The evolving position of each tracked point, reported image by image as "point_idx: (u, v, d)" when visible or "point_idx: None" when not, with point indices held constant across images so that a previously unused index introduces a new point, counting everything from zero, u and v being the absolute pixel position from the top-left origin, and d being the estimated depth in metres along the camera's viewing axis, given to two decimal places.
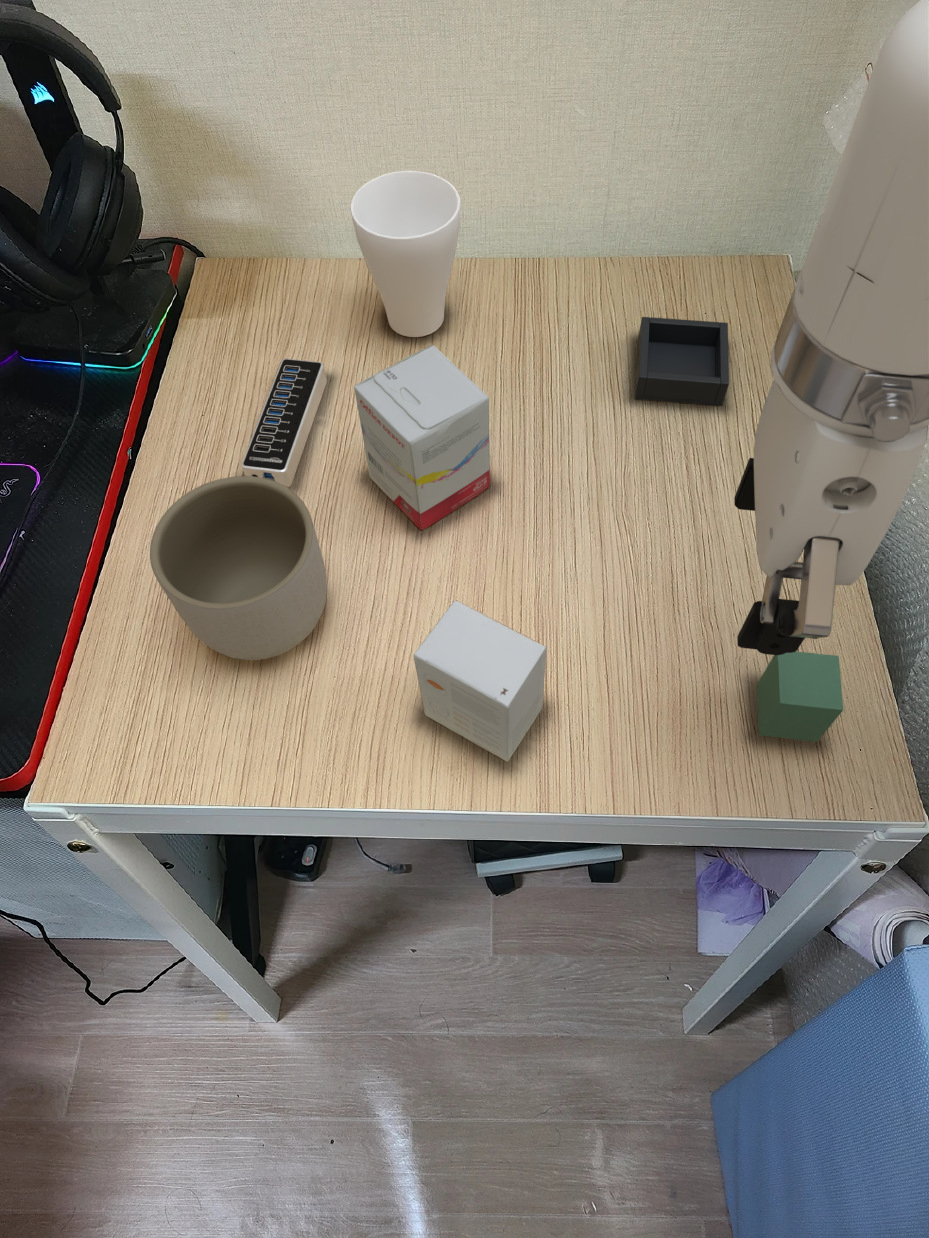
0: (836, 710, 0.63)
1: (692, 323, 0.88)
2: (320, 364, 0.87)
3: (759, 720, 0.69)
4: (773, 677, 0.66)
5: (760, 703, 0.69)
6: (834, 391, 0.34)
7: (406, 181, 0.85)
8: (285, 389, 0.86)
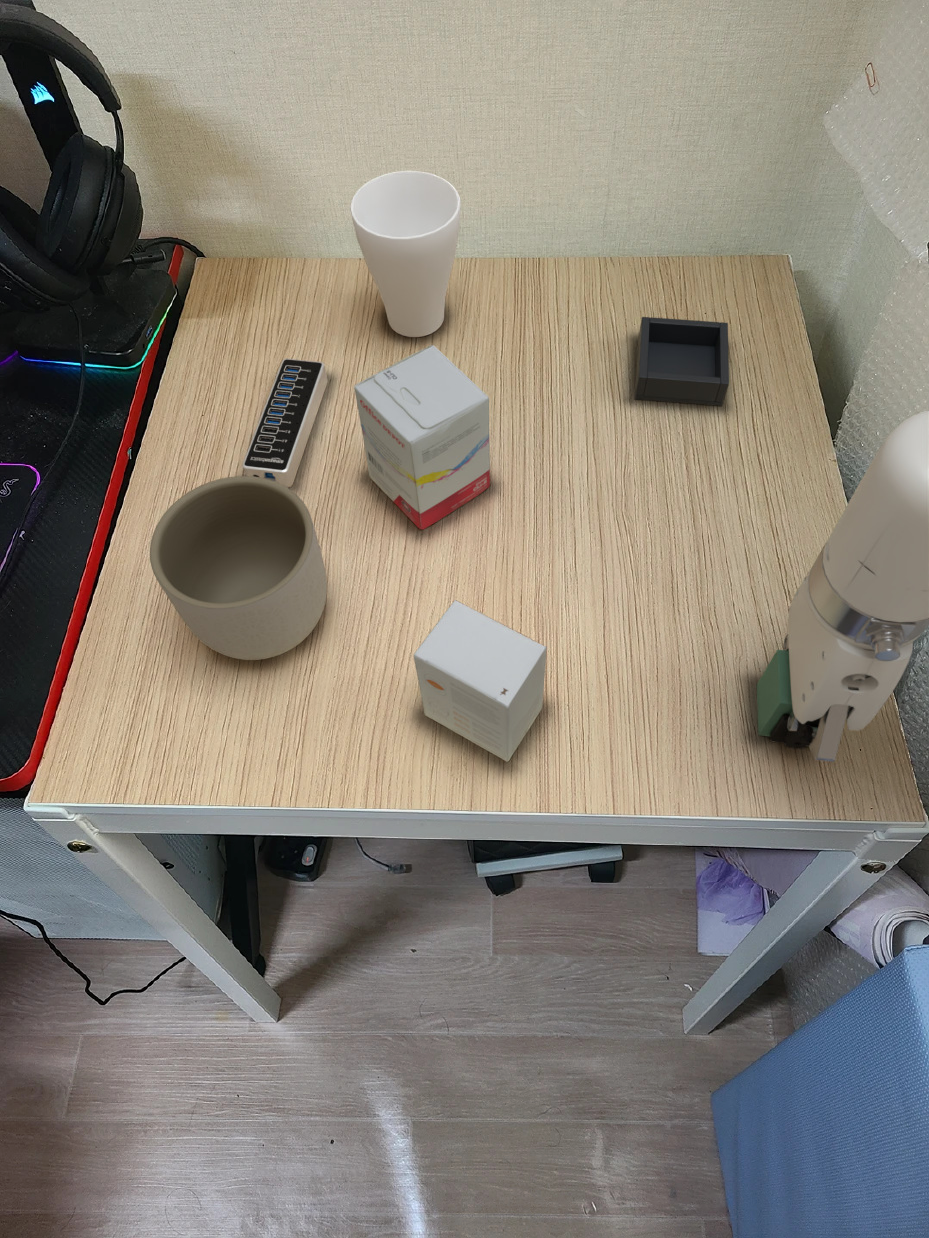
0: None
1: (692, 323, 0.88)
2: (321, 364, 0.87)
3: (759, 720, 0.69)
4: (773, 677, 0.66)
5: (760, 703, 0.69)
6: (850, 624, 0.51)
7: (406, 181, 0.85)
8: (286, 389, 0.86)
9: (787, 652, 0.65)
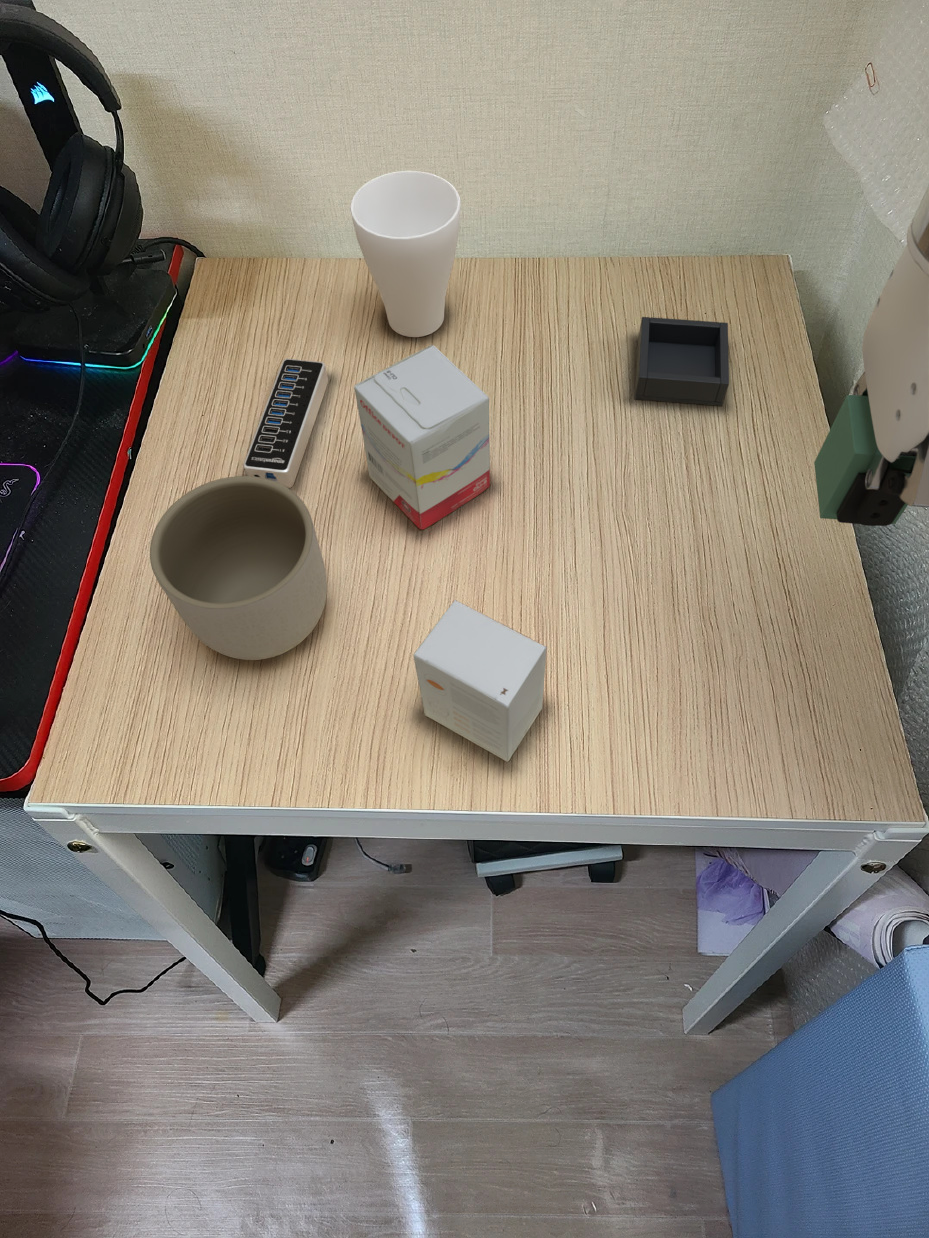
0: None
1: (692, 323, 0.88)
2: (322, 364, 0.87)
3: (820, 500, 0.54)
4: (842, 432, 0.51)
5: (821, 479, 0.54)
6: None
7: (406, 181, 0.85)
8: (287, 389, 0.86)
9: (860, 397, 0.50)
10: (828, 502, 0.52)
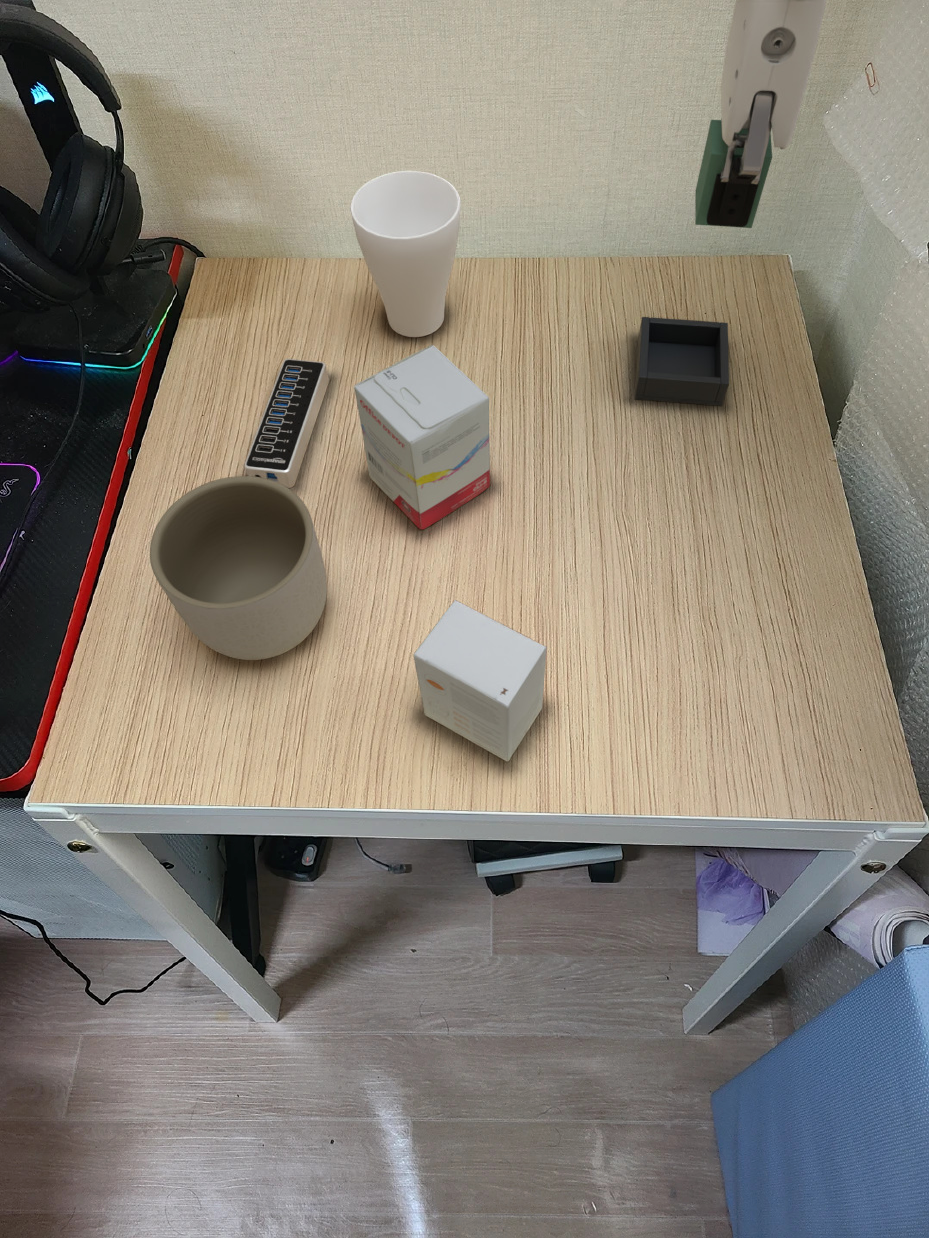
0: (765, 158, 0.65)
1: (692, 323, 0.88)
2: (322, 364, 0.87)
3: (696, 211, 0.71)
4: (707, 149, 0.68)
5: (697, 196, 0.71)
6: None
7: (406, 181, 0.85)
8: (287, 389, 0.86)
9: (720, 121, 0.67)
10: (699, 207, 0.69)
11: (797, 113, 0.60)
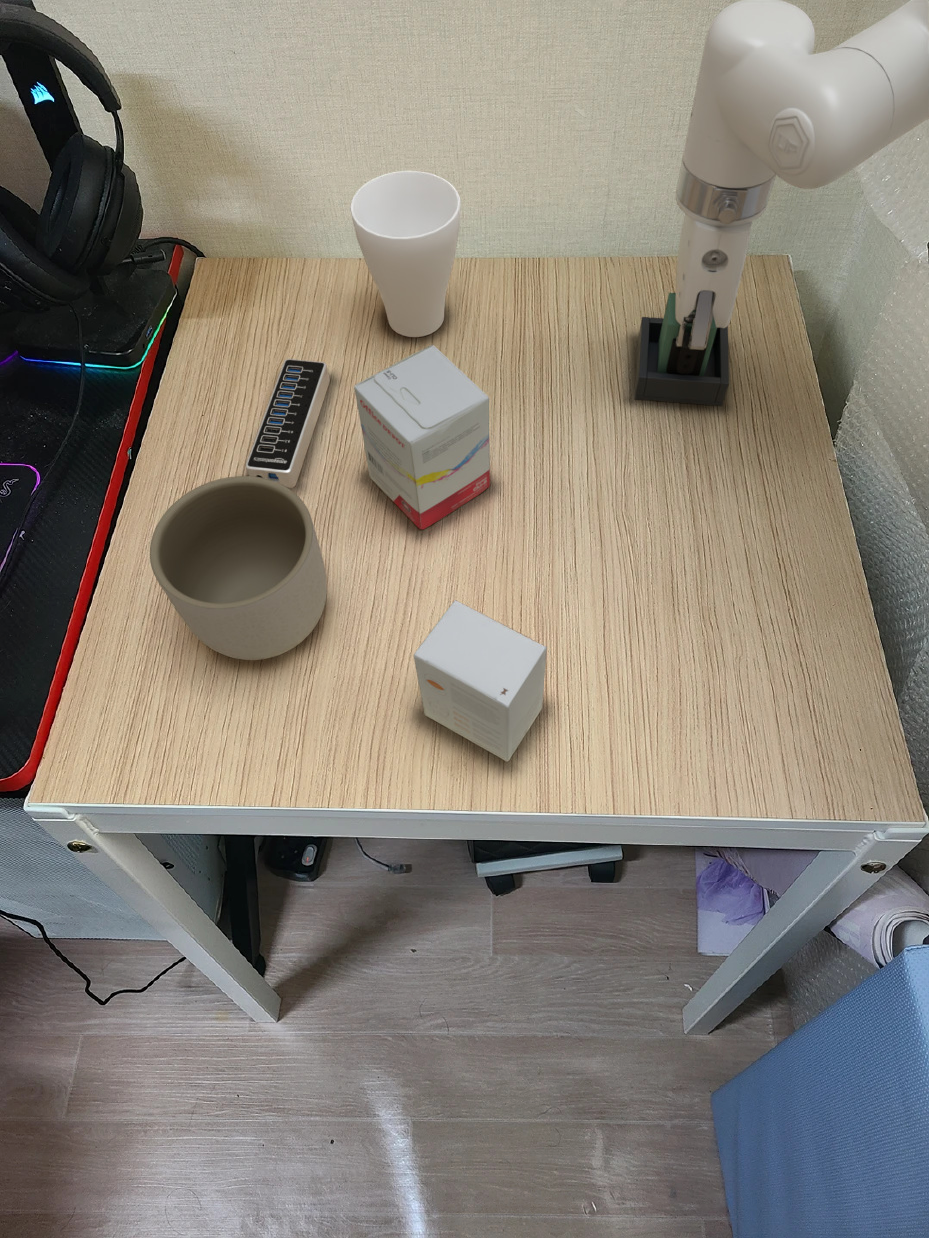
0: (711, 328, 0.81)
1: None
2: (323, 364, 0.87)
3: (658, 361, 0.86)
4: (666, 315, 0.83)
5: (659, 349, 0.86)
6: (702, 201, 0.69)
7: (406, 181, 0.85)
8: (288, 389, 0.86)
9: None
10: (660, 360, 0.85)
11: (732, 305, 0.75)
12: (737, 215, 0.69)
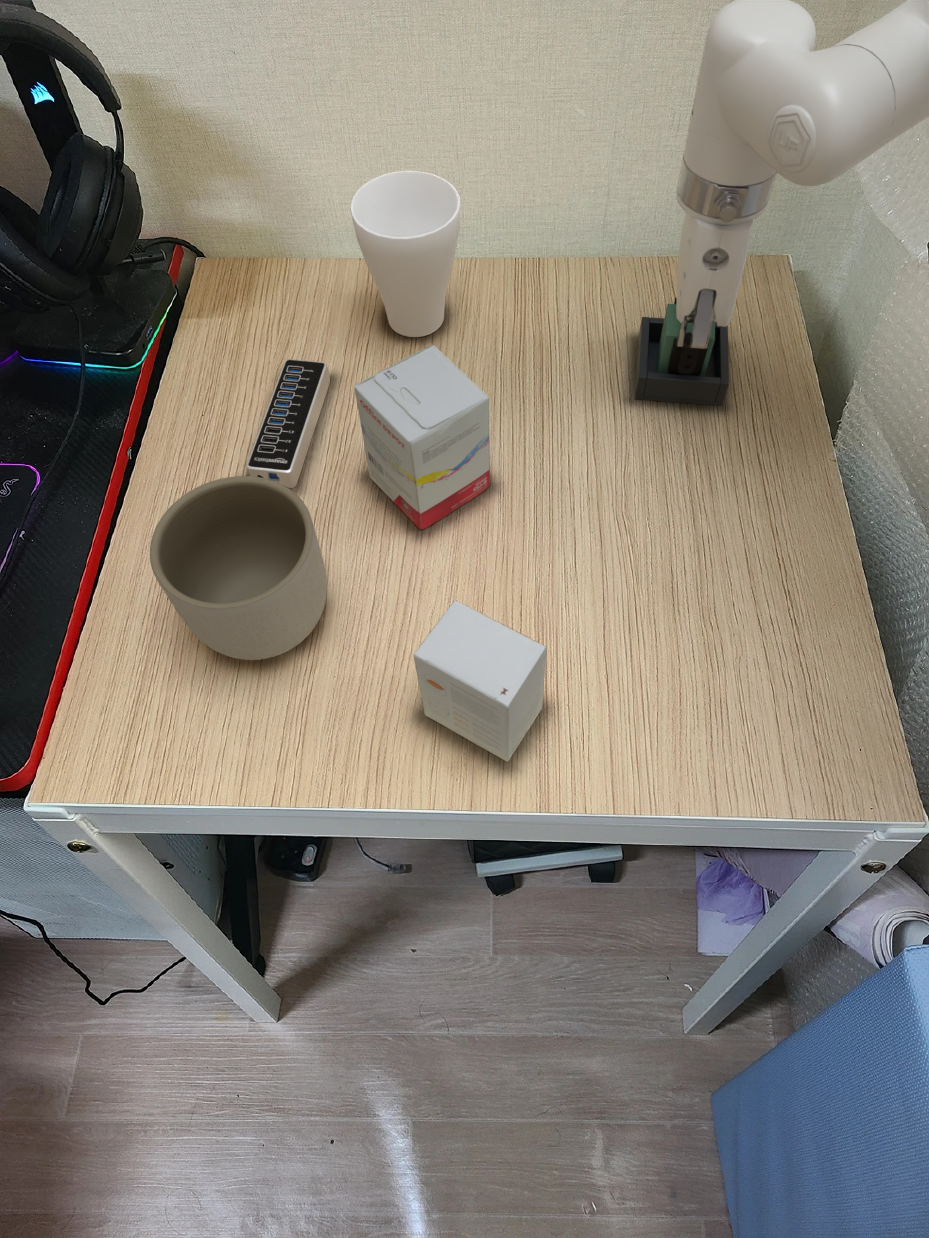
0: (709, 339, 0.82)
1: None
2: (324, 364, 0.87)
3: (657, 371, 0.87)
4: (664, 326, 0.84)
5: (658, 359, 0.88)
6: (703, 199, 0.69)
7: (406, 181, 0.85)
8: (289, 389, 0.86)
9: (675, 305, 0.84)
10: (659, 370, 0.86)
11: (734, 303, 0.75)
12: (738, 213, 0.69)
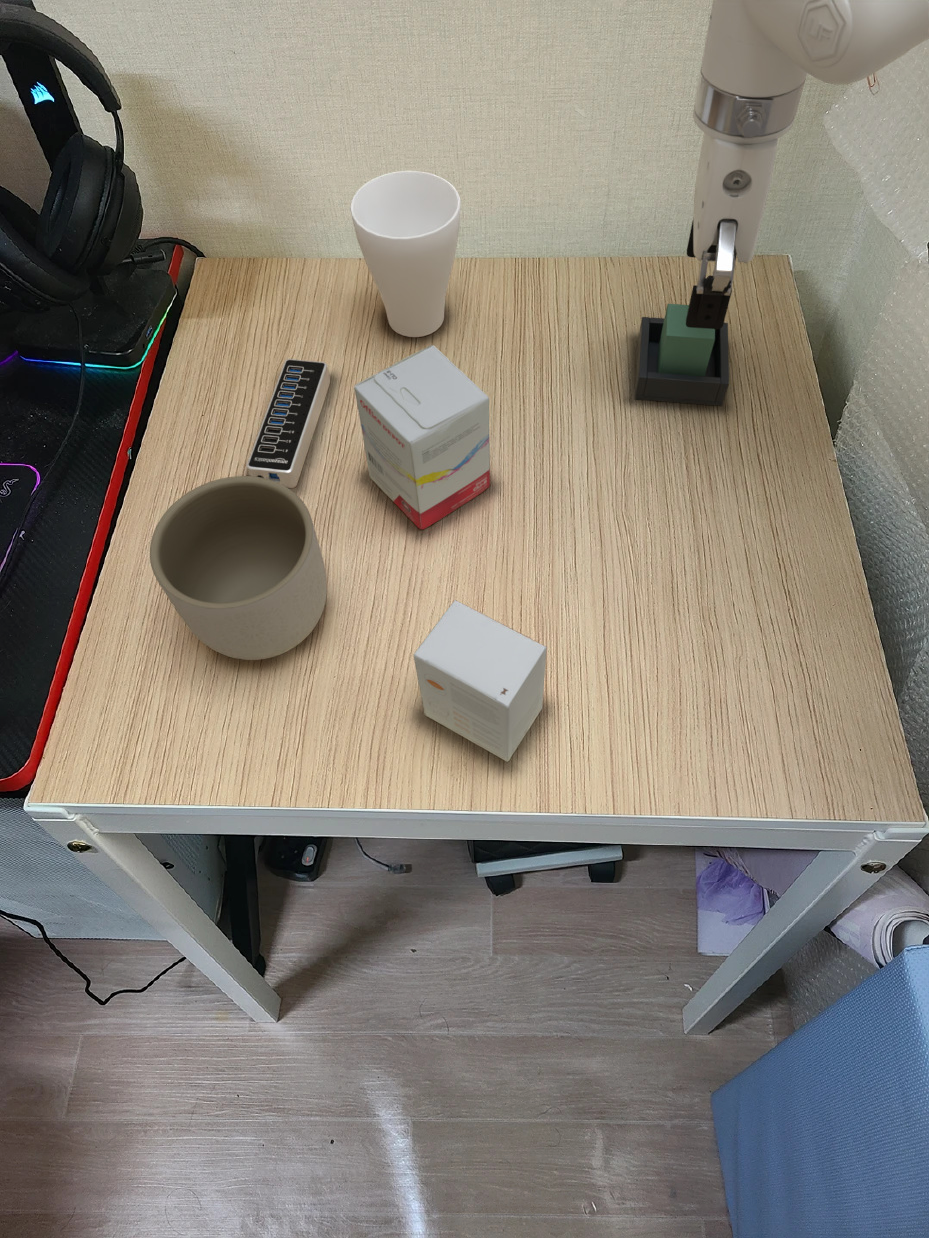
0: (709, 339, 0.82)
1: None
2: (324, 364, 0.87)
3: (657, 371, 0.87)
4: (664, 326, 0.84)
5: (658, 359, 0.88)
6: (723, 115, 0.63)
7: (406, 181, 0.85)
8: (289, 389, 0.86)
9: (675, 305, 0.84)
10: (659, 370, 0.86)
11: (756, 235, 0.69)
12: (761, 130, 0.63)
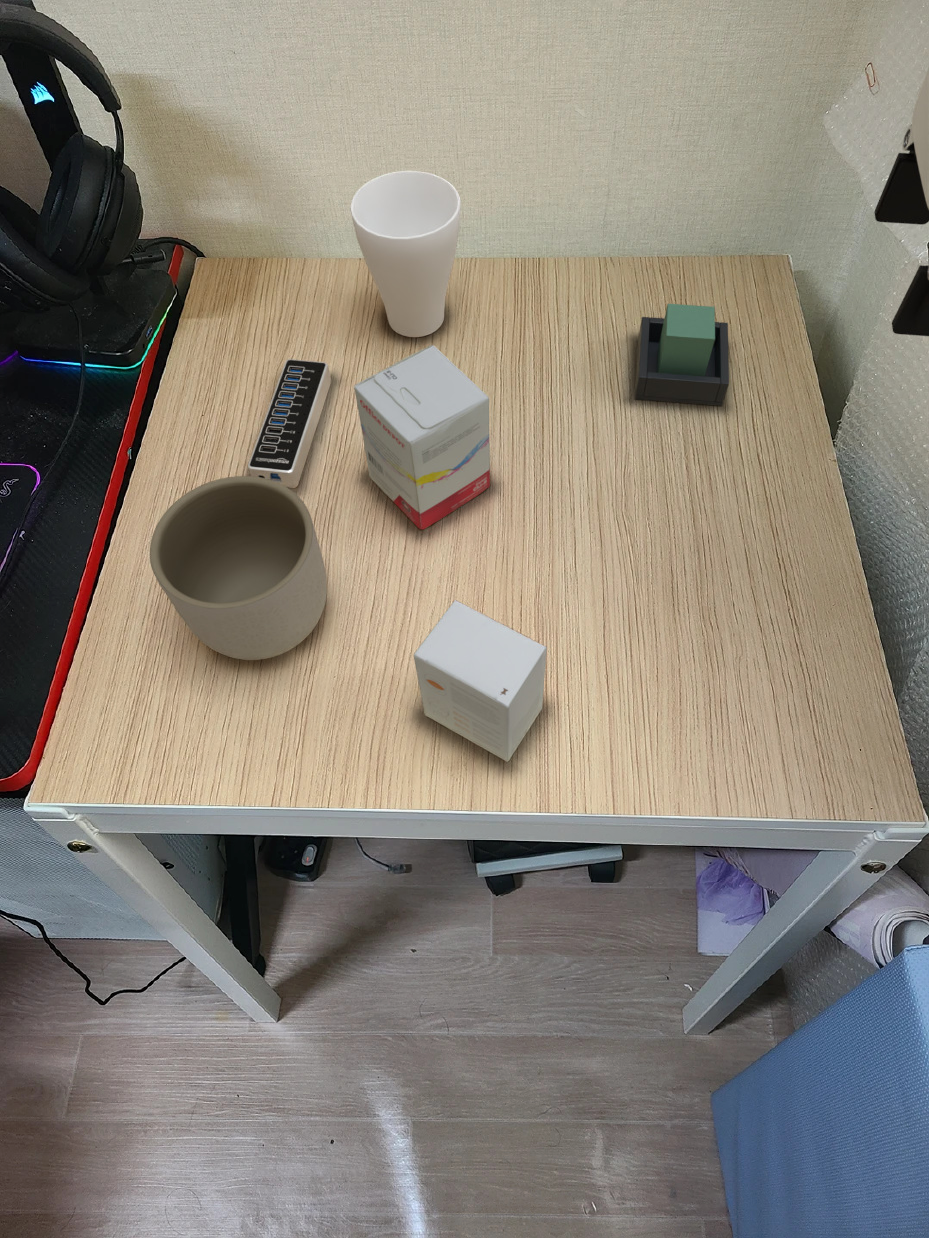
0: (709, 339, 0.82)
1: None
2: (325, 364, 0.87)
3: (657, 371, 0.87)
4: (664, 326, 0.84)
5: (658, 359, 0.88)
6: None
7: (406, 181, 0.85)
8: (290, 390, 0.86)
9: (675, 305, 0.84)
10: (659, 370, 0.86)
11: None
12: None
